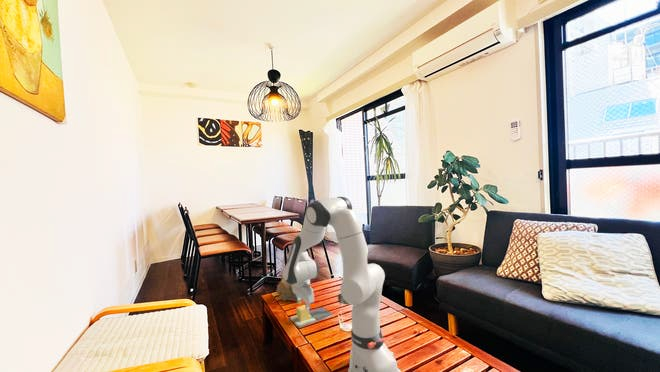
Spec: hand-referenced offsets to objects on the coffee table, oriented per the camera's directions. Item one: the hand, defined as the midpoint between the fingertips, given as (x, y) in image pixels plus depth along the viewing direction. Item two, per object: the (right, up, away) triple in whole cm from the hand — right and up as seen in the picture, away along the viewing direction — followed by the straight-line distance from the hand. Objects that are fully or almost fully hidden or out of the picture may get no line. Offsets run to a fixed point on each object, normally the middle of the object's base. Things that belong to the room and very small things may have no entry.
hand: (303, 306), depth 146 cm
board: (+4, -8, +3) cm, 9 cm away
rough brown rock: (-8, -8, +29) cm, 31 cm away
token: (0, -7, 0) cm, 7 cm away
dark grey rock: (+28, -7, +26) cm, 39 cm away
